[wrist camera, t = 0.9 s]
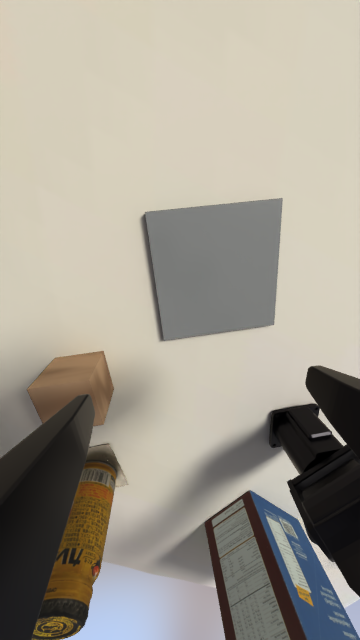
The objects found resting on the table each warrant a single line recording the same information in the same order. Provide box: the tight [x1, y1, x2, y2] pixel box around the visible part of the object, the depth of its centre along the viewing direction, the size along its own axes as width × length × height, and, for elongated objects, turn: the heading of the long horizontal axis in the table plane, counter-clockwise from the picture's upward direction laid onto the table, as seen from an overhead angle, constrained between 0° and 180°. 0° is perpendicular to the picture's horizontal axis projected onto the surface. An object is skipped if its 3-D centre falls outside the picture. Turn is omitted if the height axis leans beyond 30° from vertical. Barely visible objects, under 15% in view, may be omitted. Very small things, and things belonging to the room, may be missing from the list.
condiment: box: [31, 444, 128, 640], centre depth 22 cm, size 7×8×12 cm
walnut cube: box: [27, 351, 114, 426], centre depth 20 cm, size 5×5×5 cm
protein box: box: [205, 491, 360, 640], centre depth 29 cm, size 10×15×16 cm
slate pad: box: [145, 198, 283, 341], centre depth 20 cm, size 12×12×1 cm
